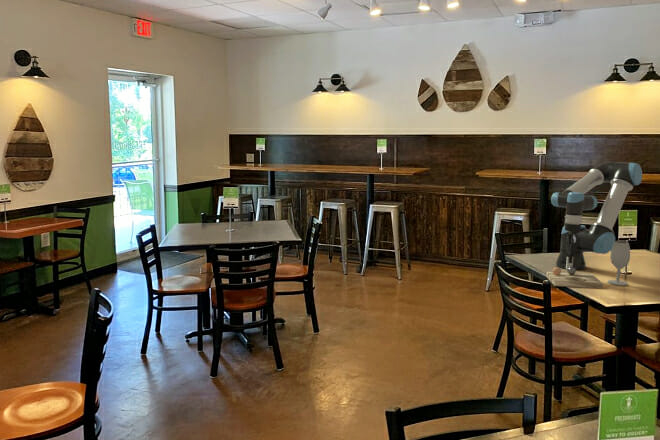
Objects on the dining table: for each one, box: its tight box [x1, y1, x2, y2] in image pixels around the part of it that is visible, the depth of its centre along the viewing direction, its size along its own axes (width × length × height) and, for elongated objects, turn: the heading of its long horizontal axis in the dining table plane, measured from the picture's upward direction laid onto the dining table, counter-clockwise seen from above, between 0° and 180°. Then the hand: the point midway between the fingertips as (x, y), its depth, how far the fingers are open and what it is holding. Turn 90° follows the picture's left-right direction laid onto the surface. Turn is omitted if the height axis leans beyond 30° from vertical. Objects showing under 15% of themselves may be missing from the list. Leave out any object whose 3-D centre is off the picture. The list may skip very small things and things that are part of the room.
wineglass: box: [607, 240, 631, 287], centre depth 283 cm, size 9×9×21 cm
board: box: [545, 271, 604, 289], centre depth 287 cm, size 18×22×2 cm
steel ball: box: [566, 267, 577, 275], centre depth 291 cm, size 4×4×4 cm
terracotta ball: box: [552, 266, 562, 275], centre depth 290 cm, size 4×4×4 cm
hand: (568, 268), depth 294 cm, fingers closed
